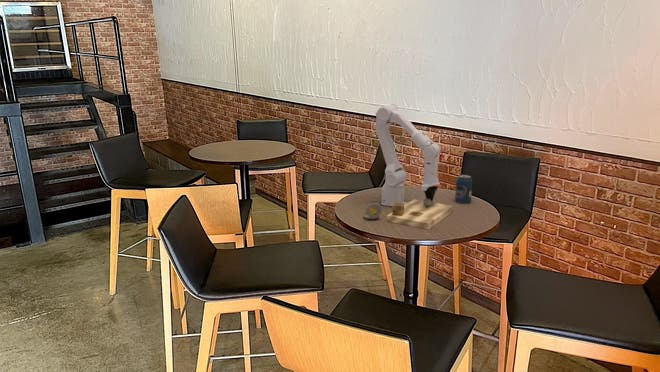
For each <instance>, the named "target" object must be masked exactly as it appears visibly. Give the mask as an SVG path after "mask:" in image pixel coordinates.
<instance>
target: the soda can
mask: <svg viewBox="0 0 660 372" xmlns="http://www.w3.org/2000/svg"><path fill="white" fill-rule="evenodd" d="M472 189H473V178H472V176H471V175H469V174H459V175H457V177H456V181H455V198H454V199H455V201H456V203H459V204H466V205H467V204H469V203H470V202H471V200H472Z"/></svg>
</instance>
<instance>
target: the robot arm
mask: <svg viewBox="0 0 660 372" xmlns="http://www.w3.org/2000/svg"><path fill="white" fill-rule="evenodd" d="M375 117H376V120H375V127H374V128H375V130H376V135H377V137H378V140H379V144H380V148H381V151H382V154H383V155H382V156H383V159H384V161H385V164H386V167H385V170H384V173H385V177H384V180H385V183H384V184H383V186H382V188H381V202H380V205H382V206H388V207H392V208H393V204H394V203H403V204H404V205H405V204H407V203H408V202H407V201H404V200H405V182H406V180H407V179H408V174H407V172H406V170H405V169H404V167H403V165H402V163H400V162H399V159H398V155H397V153H396V149H395V145H394V142H393V138H392V135H391V132H390V128H391V125H392V124H393V123H396V124H398V126H400V127H401V128H402V129H404V130H405V132H407V133H408V134H409V135H410V136H411V138H410V139H411V141H412V142H413V143H414V144H415V145H416V146H417V147H418V148H419V149H420V151H421V153H422V156H423V157H424V160H423V164H424V165H423V181H422V185H421V186H420V187H421V188H420V190H421V191H423V192H424V195H425V199H427V198H428V199H430V200H431V201H432V203H434V202H433V201H434V197H435V194H436V192H437V190H438V189H439V187H438V186H440V185H441V183H440V178H438V174H439V155H440V154H441V151H442V149H441V145H439V143H437V142H434V140H433V139H430V137H428V135H426V133H427V132H426V131H425V130H424V131H423V130H421V129H417V128H416V127H415V125H414V124H413V123H412V121H410V120H409V119H408V117H407V116H406V115H405V114H404V112H403V111H402V109H400V108H399V106H398V105H396V104H390V105H384V106H381V107H379V108H378V109H377V111H376V112H375Z"/></svg>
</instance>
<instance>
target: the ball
mask: <svg viewBox="0 0 660 372" xmlns="http://www.w3.org/2000/svg"><path fill="white" fill-rule="evenodd" d="M423 201H424V202H423V204H424V205H425V206H426V207H429V206H430V205H431V204H432V203H433V202H432V201H431V200H430V199H428V198H427V199H426V198H424V200H423Z"/></svg>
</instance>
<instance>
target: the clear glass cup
mask: <svg viewBox="0 0 660 372" xmlns="http://www.w3.org/2000/svg"><path fill="white" fill-rule="evenodd" d="M370 200H371V201H372V202H370V203H368V204H367V206H366V207H365V213H364V214H363V218H364V219H367V220H377V219H379V218H380V216H381V214H382V211H383V209H382V208H383V207H382V206H381V203H378V202H376V201H377V200H378V197H376V196H373V197H370Z"/></svg>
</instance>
